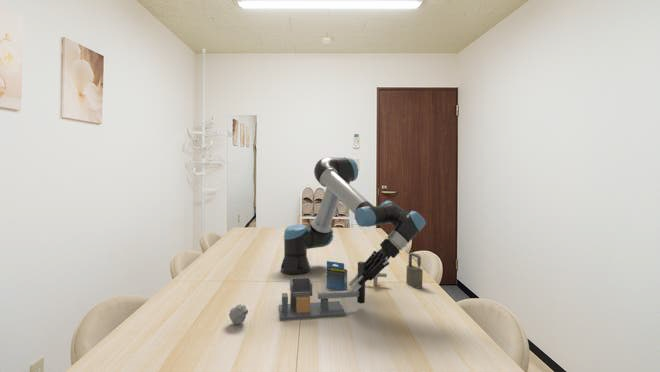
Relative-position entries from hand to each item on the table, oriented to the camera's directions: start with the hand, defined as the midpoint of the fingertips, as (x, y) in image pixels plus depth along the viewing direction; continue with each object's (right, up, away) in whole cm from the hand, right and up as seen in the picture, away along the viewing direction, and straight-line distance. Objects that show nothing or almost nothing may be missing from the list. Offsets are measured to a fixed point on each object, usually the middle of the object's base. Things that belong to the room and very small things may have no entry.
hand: (351, 288), depth 138 cm
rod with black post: (-4, -6, 0) cm, 7 cm away
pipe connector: (+13, -7, +27) cm, 31 cm away
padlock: (+31, -7, +28) cm, 42 cm away
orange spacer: (-19, -7, -3) cm, 20 cm away
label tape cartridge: (-5, -7, +24) cm, 25 cm away
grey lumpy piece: (-40, -9, -13) cm, 43 cm away
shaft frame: (-15, -8, -2) cm, 18 cm away
